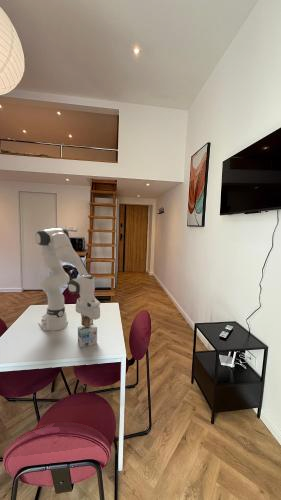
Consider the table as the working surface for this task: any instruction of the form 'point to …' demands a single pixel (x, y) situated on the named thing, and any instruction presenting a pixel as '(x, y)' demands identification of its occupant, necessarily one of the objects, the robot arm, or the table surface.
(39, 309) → the table surface
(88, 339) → the light bulb box
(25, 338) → the table surface
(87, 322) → the walnut cube
